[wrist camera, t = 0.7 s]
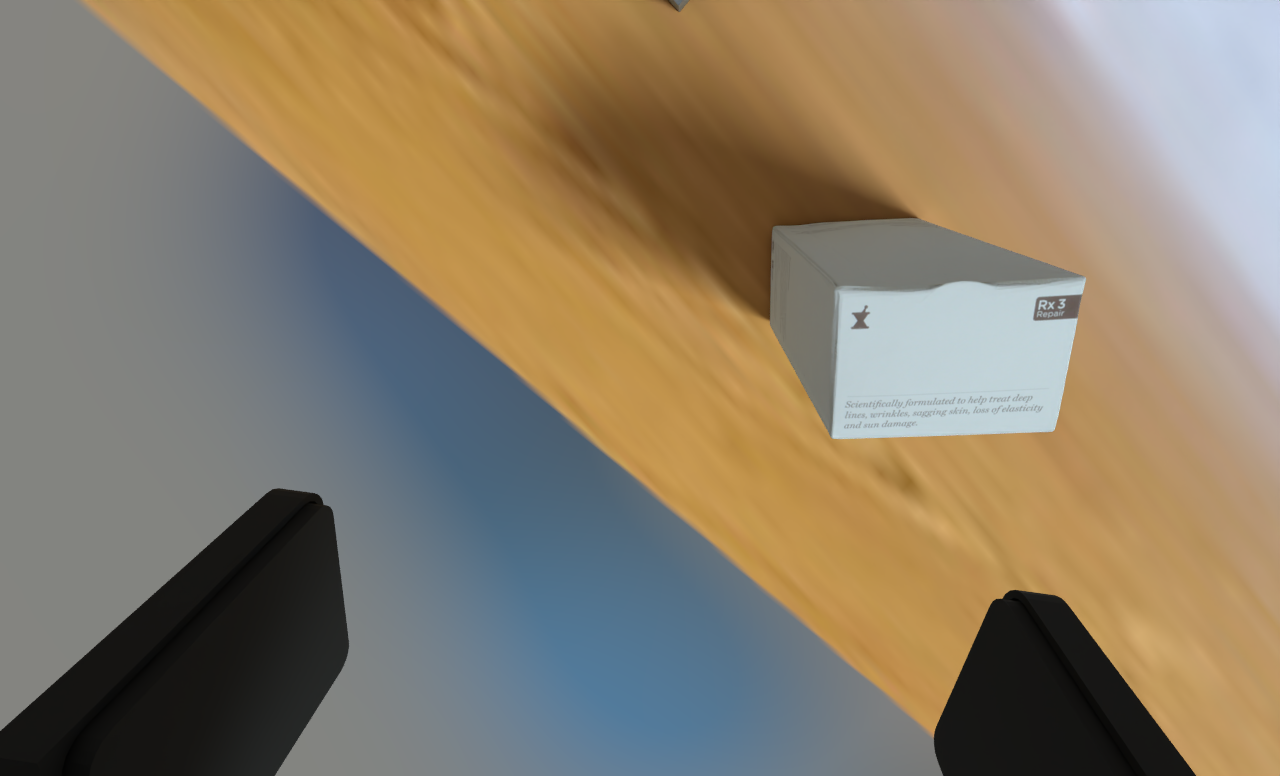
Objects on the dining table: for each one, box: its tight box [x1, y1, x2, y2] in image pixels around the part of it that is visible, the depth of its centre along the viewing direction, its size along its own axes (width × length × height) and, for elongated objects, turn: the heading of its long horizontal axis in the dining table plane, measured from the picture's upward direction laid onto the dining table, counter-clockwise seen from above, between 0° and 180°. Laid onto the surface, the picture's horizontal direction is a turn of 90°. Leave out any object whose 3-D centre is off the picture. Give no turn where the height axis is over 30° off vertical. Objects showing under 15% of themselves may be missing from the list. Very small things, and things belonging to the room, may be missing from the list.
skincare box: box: [770, 218, 1086, 439], centre depth 28 cm, size 8×6×15 cm
